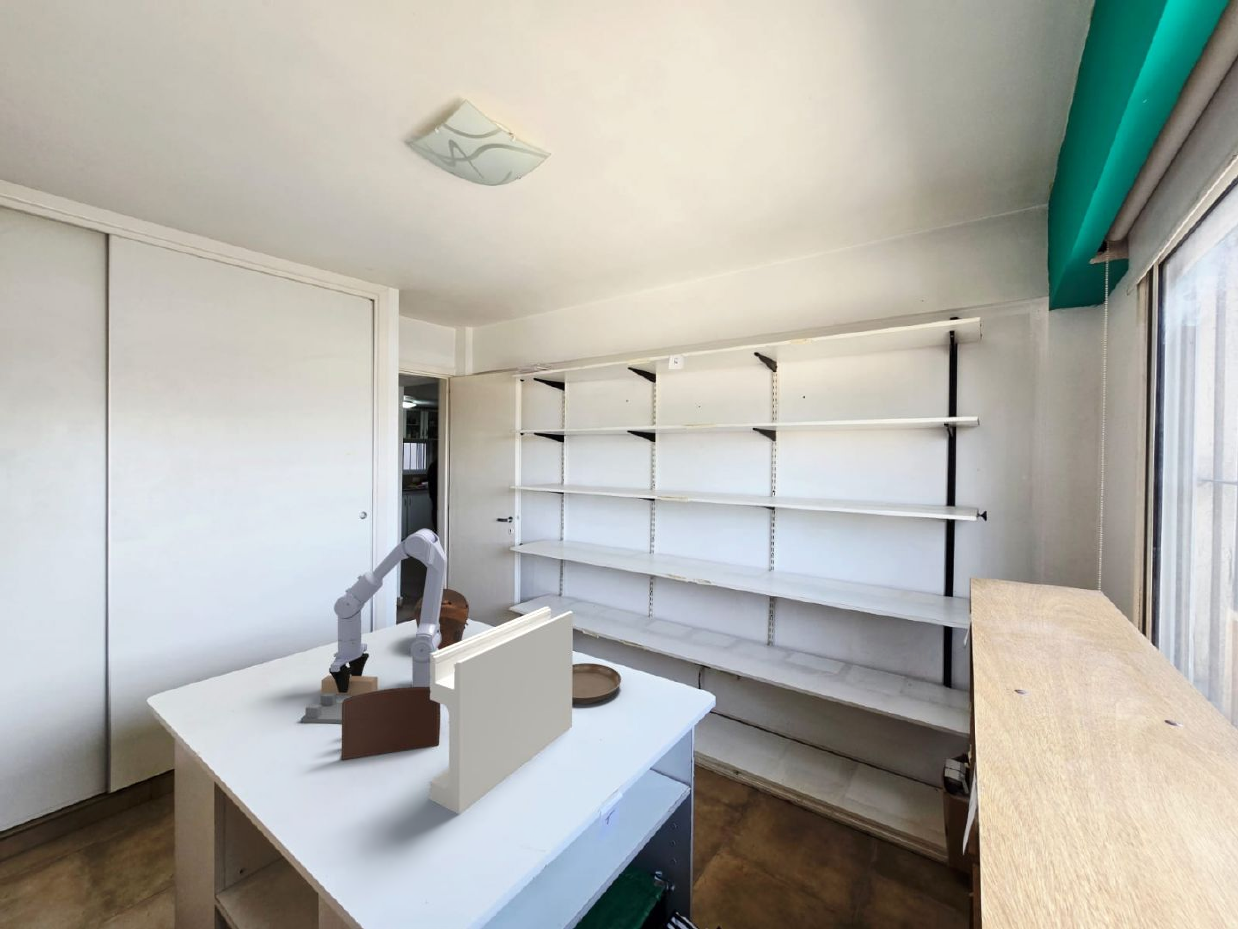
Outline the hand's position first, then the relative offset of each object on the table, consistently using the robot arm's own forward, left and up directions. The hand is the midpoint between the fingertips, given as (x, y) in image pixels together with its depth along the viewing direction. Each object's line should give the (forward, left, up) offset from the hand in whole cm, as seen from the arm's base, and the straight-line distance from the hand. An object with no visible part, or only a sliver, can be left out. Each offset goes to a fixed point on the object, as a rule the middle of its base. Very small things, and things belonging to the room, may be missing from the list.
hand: (349, 686), depth 140 cm
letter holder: (-23, +22, -2) cm, 32 cm away
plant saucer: (-64, -5, -2) cm, 64 cm away
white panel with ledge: (-51, +28, -2) cm, 58 cm away
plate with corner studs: (-5, +12, -1) cm, 13 cm away
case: (-13, -33, -2) cm, 36 cm away
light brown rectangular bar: (0, 0, -2) cm, 2 cm away
